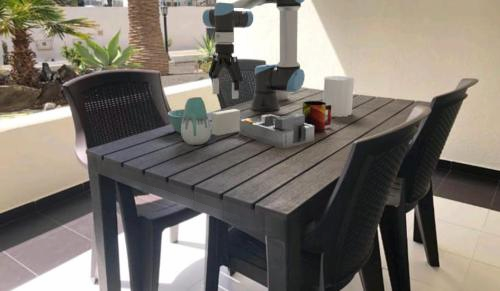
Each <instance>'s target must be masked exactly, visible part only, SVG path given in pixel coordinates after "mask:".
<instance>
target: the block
mask: <svg viewBox="0 0 500 291" xmlns="http://www.w3.org/2000/svg"><path fill="white" fill-rule="evenodd" d="M240 120H241V110H240V109H236V108H232V109H227V110H220V111H215V112H211V134H212V135H214V134H215V136H217V135H218V136H221V135H222V136H223V135H226V134H227V133H228V134H231V133H237V132H239V131H240Z"/></svg>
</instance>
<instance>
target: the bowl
mask: <svg viewBox="0 0 500 291" xmlns="http://www.w3.org/2000/svg"><path fill="white" fill-rule="evenodd" d="M184 110H185V108H183V109H182V108H181V109H175V110H174V109H173V110H170V111H169V112H167V116H168V119H169V121H170V123H171V125H172V128H173V130H174V131H175V132H176V133H178V134H181V124H182V119H183V115H184Z"/></svg>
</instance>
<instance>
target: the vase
mask: <svg viewBox="0 0 500 291" xmlns="http://www.w3.org/2000/svg"><path fill="white" fill-rule="evenodd" d="M184 109H185V110H184V115H183V119H182V124H181V133H180V134H181V137H182V139H183V141H184V142H185V143H186V144H188V145H192V146H200V145H203V144H206V143H207V142H208V141H209V140H210V138H211V134H212V124H211V123H210V122H211V121H210V118H209V115H208V112H207V108H206V105H205V101H204V100H203V98H202V97H201V96H198V97H195V96H194V97H190V98H188V99H187V100H186V102H185V106H184Z"/></svg>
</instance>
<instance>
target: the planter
mask: <svg viewBox="0 0 500 291" xmlns="http://www.w3.org/2000/svg"><path fill="white" fill-rule="evenodd" d="M290 95H291V92H287V91H279V90H277V97H278V101H280V102H281V101H285V100H287V99H288V98H290Z"/></svg>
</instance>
